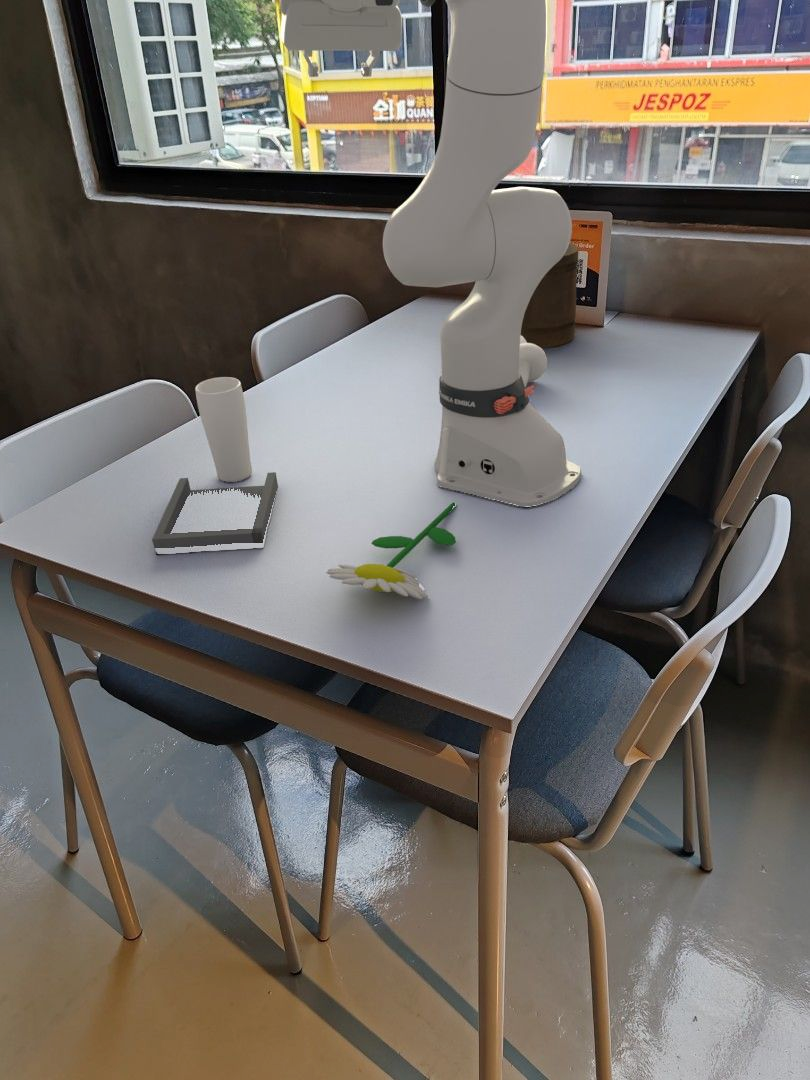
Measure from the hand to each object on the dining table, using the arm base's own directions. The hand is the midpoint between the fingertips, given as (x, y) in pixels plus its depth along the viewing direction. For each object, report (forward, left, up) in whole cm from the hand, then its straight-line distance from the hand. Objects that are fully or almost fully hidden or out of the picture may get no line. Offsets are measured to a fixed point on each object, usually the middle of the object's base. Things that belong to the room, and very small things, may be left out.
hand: (339, 75), depth 143 cm
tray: (-31, +58, -51) cm, 84 cm away
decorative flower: (-60, +49, -51) cm, 93 cm away
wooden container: (-22, -30, -51) cm, 63 cm away
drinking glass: (-22, +49, -51) cm, 74 cm away
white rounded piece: (-35, -5, -51) cm, 62 cm away
